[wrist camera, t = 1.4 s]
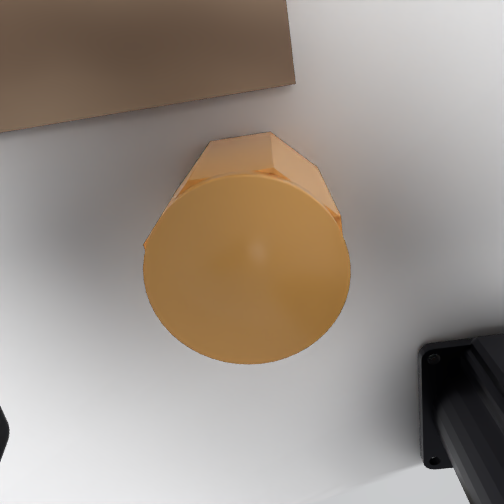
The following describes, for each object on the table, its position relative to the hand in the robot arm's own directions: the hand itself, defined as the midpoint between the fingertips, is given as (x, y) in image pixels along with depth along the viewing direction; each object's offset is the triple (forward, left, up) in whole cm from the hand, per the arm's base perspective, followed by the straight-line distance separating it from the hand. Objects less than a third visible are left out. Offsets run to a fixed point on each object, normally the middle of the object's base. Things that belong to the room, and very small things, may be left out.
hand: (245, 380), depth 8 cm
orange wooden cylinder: (0, 0, -10) cm, 10 cm away
